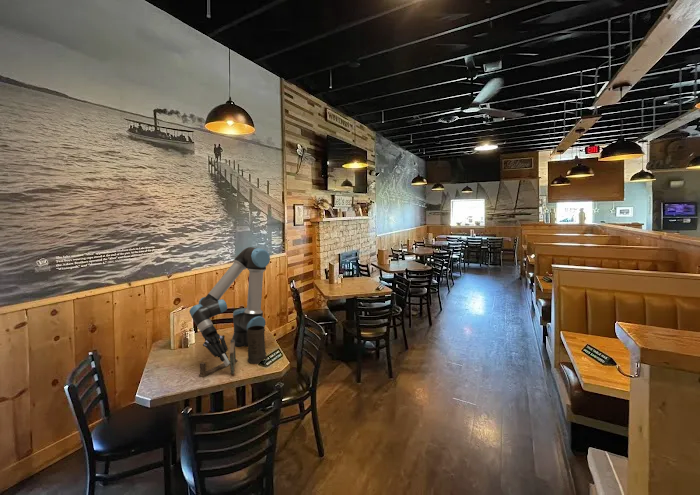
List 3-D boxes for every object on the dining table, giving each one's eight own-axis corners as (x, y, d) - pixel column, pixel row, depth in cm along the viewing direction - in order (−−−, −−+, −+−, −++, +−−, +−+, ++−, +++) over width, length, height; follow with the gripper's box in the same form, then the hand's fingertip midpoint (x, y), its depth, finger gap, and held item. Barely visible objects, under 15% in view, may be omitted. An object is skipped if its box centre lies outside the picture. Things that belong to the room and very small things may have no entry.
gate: (231, 361, 196) (230, 342, 195) (235, 360, 196) (234, 341, 195) (230, 374, 180) (229, 353, 179) (234, 373, 180) (233, 353, 179)
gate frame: (233, 360, 200) (232, 338, 199) (237, 361, 198) (236, 340, 197) (198, 376, 180) (197, 352, 179) (202, 377, 178) (201, 353, 177)
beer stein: (265, 363, 195) (264, 329, 194) (246, 365, 193) (245, 330, 192) (267, 354, 210) (266, 322, 209) (249, 355, 208) (249, 323, 208)
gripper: (214, 329, 197) (234, 364, 190) (194, 336, 186) (214, 373, 179) (220, 322, 193) (241, 357, 186) (199, 329, 182) (221, 366, 175)
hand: (228, 364), depth 183 cm, fingers closed
